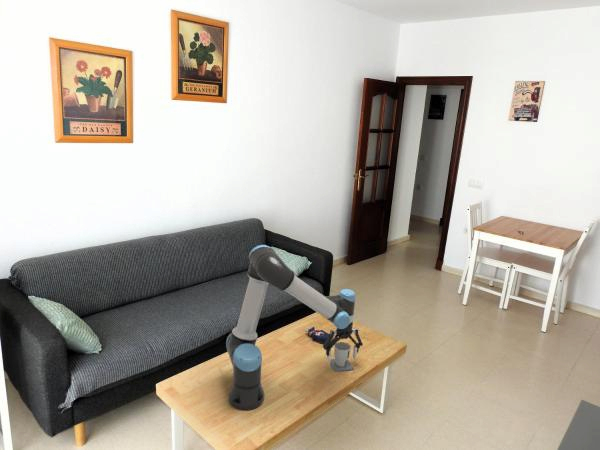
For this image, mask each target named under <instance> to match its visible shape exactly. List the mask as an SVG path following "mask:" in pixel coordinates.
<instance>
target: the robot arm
mask: <svg viewBox="0 0 600 450" xmlns="http://www.w3.org/2000/svg"><path fill="white" fill-rule="evenodd" d="M248 263H249V266H248V270H247V276H248V278H249V280H248V283H247V287H246V289H245V290H246V291H245V295H244V298H243V302H242V307H241V310H240V312H239V313H240V314H239V316H238V317H239V318H238V321H237V323H236V324H237V325H236V326H235V327H233V329H232V331H231V333H229V335H228V336H227V337H226V342H225V344H226V345H225V347H226V352H227V354H228V357H229V359H230V362H231V366H232V368H233V373H232V374H233V377H232V378H233V379H232V380H233V381H232V384H231V386H230V387H231V388H230V390H229V393H228V402H229V404H230V405H231V406H232V407H233V408H234V409H237V410H241V411H251V410H255V409H256V408H259V407H260V406H262V405H263V403H264V401H265V392H264V389H263V386H262V363H263V362H262V361H263V357H262V352H261V349H260V348H259V347H258V345H256V343H257V339H258V333H257V332H256V331H257V328H258V327H257V326H258V323H259V319H260V316H261V312H262V308H263V305H264V301H265V297H266V294H267V291H268V287H269V285H270V286H271V287H274V288H276V289H277V290H278V291H280V292H286V293H288V294H289V295H290V296H292V297H293V298H295V299H297V300H298V301H299V302H301V303H302V304H304V305H306V306H307V307H308V308H310V309H311V310H313V311H315V312H316V313H317V314H318V315H320V316H322V317H324V319H326V320H327V321H329V322H330V323H332V324H333V326H334V327H336V330H333V329H329V336H328V338H327V339H326V341H325V343H323V345H322V348H323V349H324V350H323V351H325V355H326V357H327V358H326V360H327V362H328V363H329V364H330V361H331V359H332V358H331V357H332V349H333V347H334V345H335V344H336V343H337V342H340V340H344V339H345V340H348V339H350V341H351V342H352V343H353V344H354V345H353V349H352V358H353V360H354V361H355V360H357V354H358V353H359V349H360V348H361V347H362V346H363V345H364V344H363V342H362V339H361V337H360V334H359V329H358V328H357V327H354V328H353V325H354V323H353V322H354V315H355V314H354V313H355V304H356V293H355V292H354V290H352V289H349V288H344V289H341V290H340V291H339V293H338V294H337V295H328V296H327V295H326V296H325V295H324V294H323V293H320V292H319V291H318V290H316V289H315V288H313V287H312V286H310V285H309V284H307V283H306V282H304V281H303V280H302V279H301V278H299V277H298V276H296V273H295V271H294V270H292V269H291V268H290V267H288V266H287V264H286V263H285V261H283V260H282V258H281V257H280V256H279V255H278V254H277V252H276V251H275V249H274V248H272V247H271V246H268V245H266V244H260V245H257V246H255V247H253V248H252V249H251V251H250V252H249V254H248ZM352 334H354V335H355V337H356V340H357V341H356V340H355V339H354V337H353V336H352Z"/></svg>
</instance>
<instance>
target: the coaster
mask: <svg viewBox="0 0 600 450" xmlns="http://www.w3.org/2000/svg"><path fill="white" fill-rule="evenodd" d="M329 365H330V366H331V369H333V371H334V373H341V372H342V373H343V372H349V371H354V370H355V367H354V366H353V364H352V363H351V361H350V359H348V362H347V364H346V366H345V367H339V366H337V365H336V361H335V358H331V361H330V363H329Z"/></svg>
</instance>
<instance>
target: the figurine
mask: <svg viewBox="0 0 600 450" xmlns="http://www.w3.org/2000/svg"><path fill="white" fill-rule="evenodd" d="M304 332H305V333H307V336H311V340H313V341H315V342H319V343H320V344H324V343H325V341H326V339H327V338H328V336H329V334H330V332H329V333H328V332H326V331H325V330H323V329H321V330H319V329H317V328H315V326H313V327H308V328H306V329H304Z"/></svg>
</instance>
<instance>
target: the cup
mask: <svg viewBox="0 0 600 450" xmlns="http://www.w3.org/2000/svg"><path fill="white" fill-rule="evenodd" d="M333 347H334V349H333V350H334V353H333V355H334V359H335V361H336V365H337V366H339V367H345V366H346V364H347V362H348V360H350V355H351V350H352V346H351V344H350V343H348V342H345V341H337V343H336V344H335V345H334V346H333Z"/></svg>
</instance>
